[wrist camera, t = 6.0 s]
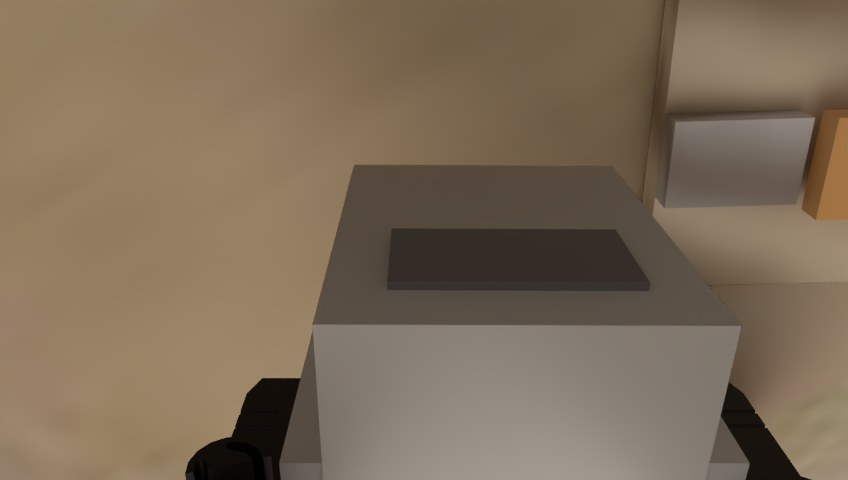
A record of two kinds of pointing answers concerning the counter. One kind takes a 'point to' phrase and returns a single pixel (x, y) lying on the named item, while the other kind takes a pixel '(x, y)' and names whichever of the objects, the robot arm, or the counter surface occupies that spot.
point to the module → (514, 331)
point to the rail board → (747, 136)
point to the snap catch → (829, 169)
